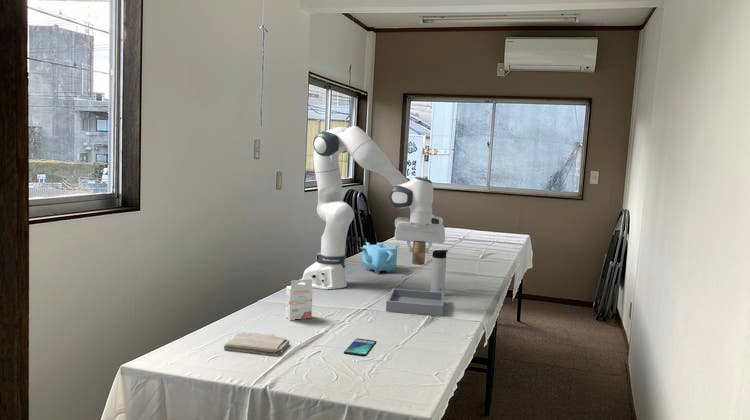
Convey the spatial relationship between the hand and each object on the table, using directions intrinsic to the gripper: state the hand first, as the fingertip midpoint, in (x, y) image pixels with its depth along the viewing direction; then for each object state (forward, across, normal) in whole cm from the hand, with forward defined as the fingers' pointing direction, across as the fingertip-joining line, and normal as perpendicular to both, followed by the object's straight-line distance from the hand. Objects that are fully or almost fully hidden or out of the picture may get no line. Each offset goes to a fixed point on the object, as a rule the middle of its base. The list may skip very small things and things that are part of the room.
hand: (418, 252), depth 238 cm
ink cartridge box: (+22, -41, -30) cm, 56 cm away
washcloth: (+23, -45, -64) cm, 81 cm away
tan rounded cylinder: (+5, 0, 0) cm, 5 cm away
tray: (+22, 0, 0) cm, 22 cm away
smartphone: (+23, -14, -55) cm, 61 cm away
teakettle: (+23, -24, +64) cm, 72 cm away
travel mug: (+23, +8, +24) cm, 34 cm away
